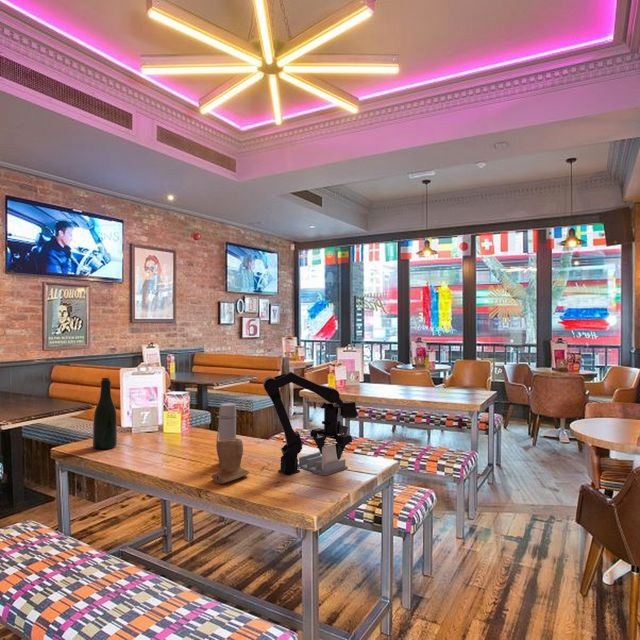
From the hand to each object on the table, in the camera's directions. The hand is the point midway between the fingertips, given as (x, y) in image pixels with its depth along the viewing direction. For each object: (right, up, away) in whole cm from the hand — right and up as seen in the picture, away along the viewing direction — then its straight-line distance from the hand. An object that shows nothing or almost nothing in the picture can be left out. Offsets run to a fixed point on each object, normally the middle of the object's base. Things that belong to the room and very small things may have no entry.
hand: (330, 457), depth 191 cm
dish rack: (-3, -5, +3) cm, 7 cm away
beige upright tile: (0, -5, 0) cm, 5 cm away
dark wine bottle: (-106, -5, +30) cm, 110 cm away
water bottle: (-44, -5, +7) cm, 45 cm away
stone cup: (-39, -5, -12) cm, 41 cm away
